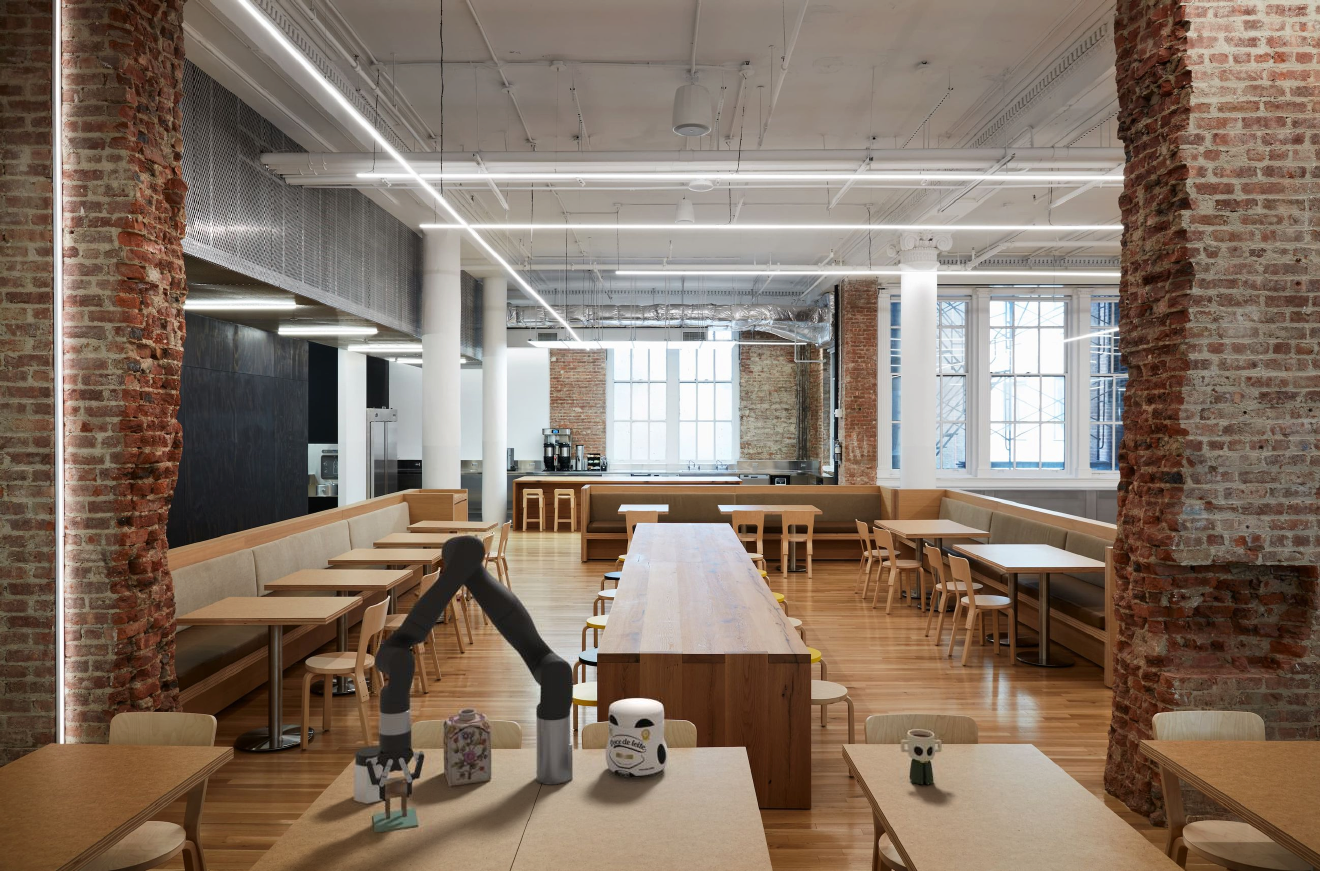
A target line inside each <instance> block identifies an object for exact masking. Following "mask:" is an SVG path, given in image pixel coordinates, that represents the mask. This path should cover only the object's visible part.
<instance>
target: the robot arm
mask: <svg viewBox="0 0 1320 871" xmlns="http://www.w3.org/2000/svg"><path fill="white" fill-rule="evenodd" d="M485 556H486V546H485V544H484V542H483V541H482V539H481V538H479V537H477V536H474V535H468V534H467V535H458V536H454V537H451V538H448V539H447V540H446V541H445V542H444V543H443V545H442V547H441V559H442V561H443V563H444V566H445V568H444V570H443V571H442V573H440V575H439V577H438V578H437V579H436V581H435V582H434V583H433V584H432V585H431V586H430V587H429V588H428V589H427V590H426V591H425V592H424V593H423V594H422V596H420V598H419V599H418V600H417V601H416V603H414V604H413V606H412V608H411V610H409V612H408V614H407V615H406V617H405V618H404V620H403V622H402V623H401V624H400V626H399V627H398V628H397V629H396V630H395V631H393V633H392V634H390V635H389V637H387V639H385V640H384V642H383V643H382V644H381V645H380V646H379V648H378V650H377V651H376V654H375V657H374V666H375V668H376V670H377V671H379V672H380V673H382V674H386V675H388V680H387V684H386V685H384V686H383V687H382V688H381V690H380V692H379V693H380V694H379V716H378V717H379V719H378V745H379V753H378V755H377V757H374V758H372V759H371V758H367V760H366V765H367V769H368V773H369V776H370V780H371V784H372V785H378V786H379V798H380V799H382V801H381V802H385V801H386V799H385V781H386V778H387V777H388V774H389V775H390V773H394V772H401V771H402V772H403V774H404V776H405V777H406V780H407V799H408V798H410V796H411V795H412V794H413V782H414V781H415V780H418V779H420V777H421V773H422V769H423V764H424V761H425V752H424V751H423V750H421V751H414V750H413V749H412V748H413V747H412V726H413V725H412V713H411V694H410V693H411V689H412V685H413V683H414V676H415V671H416V659H415V655H414V654H413V652H412V650H410V649H412V647H414V646H415V645H420V644H423V643H424V641H426V639H427V638H428V636H429V634H430V633H431V632H432V630H433V629H434V627H435V625H436V624H437V622H438V620H439V619H440V617H441V616H442V614H443V613H444V611H445V609H446V608H447V607H448V605H449V603H450V602H451V601H452V600H453V598H454V597H455V595H457V593H458V592H459V591H460V589H461V588H462V587H463V586H464V587H465V589H467V590H468V591H469V593H470V594H471V596H472V598H473V599H474V600H475V602H476V603H477V604H478V606H479V607H480V608H481V610H482V611H483V613H484V614H485V615H486V616H487V618H488V620H489V621H490V622H491V623H492V625H493V626H494V627H495V629H496V630H497V631H498V632H499V634H500V635H501V636H502V637H503V638H504V639H505V640H506V642H507V643H508V644H509V645H510V646H511V647H513V649H514V650H515V651H516V653H518V655H519V656H520V657H521V659H522V660H523V662H524V663H525V665H526V667H527V668H528V670H529V672H530V674H531V675H532V678H533V679H534V680H535V682H536V683H537V684H538V685H539V686H540V691H539V692H540V693H539V694H540V695H539V696H540V697H539V703H538V704H537V705H536V712H535V714H536V715H535V716H536V728H535V730H536V732H535V733H536V772H535V773H536V780H537V782H539V783H541V784H544V785H557V784H558V785H559V784H562V783H563V784H564V783H566V782H567V781H572V780H574V779H573V776H574V775H573V744H572V742H571V708H572V705H573V700H574V696H573V695H574V674H573V668H572V666H571V665H570V664H571V663H569V662H568V661H567V660H565V659H564V658H563V657H561V656H559V655H558V654H557V653H555V652H554V650H552V649H551V647H550V646H549V644H547V643H546V642H545V641H544V639H543V638H542V637H541V635H540V634H539V632H538V630H537V628H536V625H535V623H534V620H533V619H532V617H531V615H530V613H529V611H528V610H527V608H526V607H525V606H524V605H523V603H522V602H521V600H520V599H519V597H517V595H516V594H515V593H514V592H513V591H511V590H510V589H509V588H508V587H507V586H506V585H505V584H503V583H502V582H501V581H500V580H498V579H497V578H495V577H494V576H493V575H492V574H491V573H490V572H489V571H488V570H487V568H486V567H485V566H484V565H483V561H484V559H485V558H486V557H485ZM413 758H414V762H416V763H415V768H414V771H413V772H412V773H411V771H410V769H409V763H410V762H411V760H412V759H413ZM376 762H379V763H380V764H381V765H382V767H383V769H382V773H381V776H380V778H377V777H376V775H375V771H374V768H375V767H376Z"/></svg>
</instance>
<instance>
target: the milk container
mask: <svg viewBox="0 0 1320 871" xmlns="http://www.w3.org/2000/svg"><path fill="white" fill-rule="evenodd" d="M665 738H666V737H665V710H664V705H663V704H662V703H661V702H659V701H658V700H654V699H650V698H642V697H641V698H640V697H639V698H638V697H637V698H635V697H633V698H632V697H631V698H625V699H624V698H623V699H620V700H617V701H614V702H613V703H611V704H610V705H609V706H608V741H607V743H606V749H605V760H606V766H607V767H608V770H609V771H610V772H612V773H614V774H615V775H617V776H620V777H623V778H624V777H625V778H634V779H635V778H638V779H639V778H647V777H651V776H655V775H657V774H659V773H661V772H662V771H663V770H664V769H665V767H666V765H667V762H668V754H669V753H668V746H667V742H666V739H665Z"/></svg>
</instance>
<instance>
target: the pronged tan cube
mask: <svg viewBox="0 0 1320 871" xmlns="http://www.w3.org/2000/svg"><path fill="white" fill-rule="evenodd" d="M396 798H400V800H401V801H400V808H401V809H400V810H401V811H402V817H407V809H408V807H407V806H408V805H407V804H408V801H407V800H408V798H407V780H406V777H405V775H404V776H397V777H389V778H388V779H386V781H385V799H386V801H384V812H385V813H386V820H389V819H390V812H391V799H396Z"/></svg>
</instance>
